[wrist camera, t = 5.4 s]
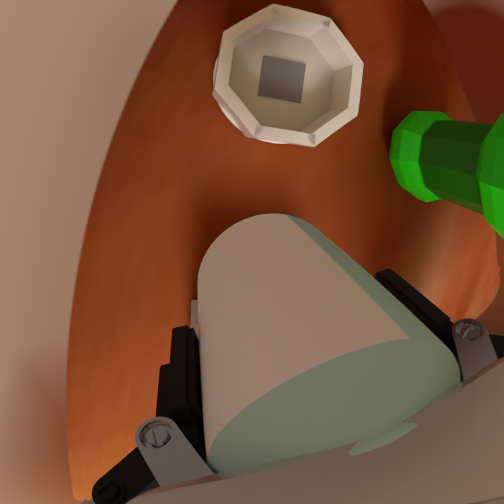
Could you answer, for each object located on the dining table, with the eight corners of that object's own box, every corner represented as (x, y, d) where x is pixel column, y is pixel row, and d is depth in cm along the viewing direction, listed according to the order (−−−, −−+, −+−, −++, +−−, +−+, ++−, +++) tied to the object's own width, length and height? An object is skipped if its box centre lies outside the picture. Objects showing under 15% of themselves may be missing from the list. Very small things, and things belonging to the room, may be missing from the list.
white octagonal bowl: (345, 41, 25) (368, 29, 20) (331, 153, 29) (353, 157, 24) (223, 14, 22) (227, -6, 18) (204, 135, 26) (205, 134, 22)
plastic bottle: (442, 188, 32) (613, 266, 10) (375, 201, 32) (576, 316, 9) (437, 108, 29) (628, 137, 6) (366, 109, 28) (606, 127, 5)
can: (292, 345, 18) (374, 526, 7) (178, 312, 16) (177, 546, 5) (352, 241, 16) (525, 391, 5) (231, 186, 14) (351, 382, 3)
